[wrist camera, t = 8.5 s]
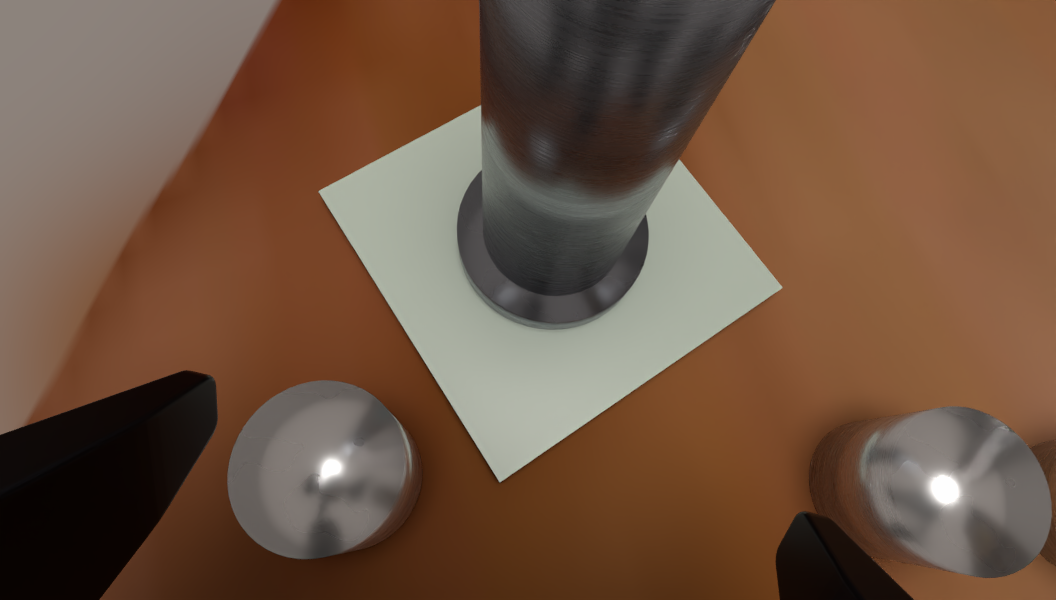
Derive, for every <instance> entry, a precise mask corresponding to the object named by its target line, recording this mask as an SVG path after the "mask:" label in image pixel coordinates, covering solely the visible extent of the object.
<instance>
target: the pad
mask: <svg viewBox="0 0 1056 600" xmlns="http://www.w3.org/2000/svg"><path fill="white" fill-rule="evenodd" d="M481 170H482V141H481V105H480V106H478V107H477V108H475V109H473V110H471V111H469V112H467V113H465V114H463V115H461V116H460V117H458V118H456V119H454V120H452V121H450V122H448V123H446V124H444V125H443V126H441V127H439V128H437V129H435V130H433V131H431V132H429V133H427V134H426V135H424V136H422V137H420V138H418V139H416V140H414V141H412V142H410V143H409V144H407V145H405V146H403V147H401V148H399V149H397V150H395V151H393V152H392V153H390V154H388V155H386V156H384V157H382V158H380V159H378V160H376V161H375V162H373V163H371V164H369V165H367V166H365V167H363V168H361V169H359V170H358V171H356V172H354V173H352V174H350V175H348V176H346V177H344V178H342V179H341V180H339V181H337V182H335V183H333V184H331V185H329V186H327V187H325V188H324V189H322V190H320V191H318V192H319V193H320V195H321V197H322V198H323V200H324V202H325V203H326V205H327V206H328V208H329V210H330V211H331V213H332V214H333V216H334V218H335V219H336V221H337V222H338V224H339V226H340V227H341V229H342V230H343V232H344V234H345V235H346V237H347V238H348V240H349V242H350V243H351V245H352V246H353V248H354V250H355V251H356V253H357V254H358V256H359V258H360V259H361V261H362V262H363V264H364V266H365V267H366V269H367V270H368V272H369V274H370V275H371V277H372V279H373V280H374V282H375V283H376V285H377V287H378V288H379V290H380V291H381V293H382V295H383V296H384V298H385V299H386V301H387V303H388V304H389V306H390V307H391V309H392V311H393V312H394V314H395V315H396V317H397V319H398V320H399V322H400V323H401V325H402V327H403V328H404V330H405V331H406V333H407V335H408V336H409V338H410V339H411V341H412V343H413V344H414V346H415V347H416V349H417V351H418V352H419V354H420V356H421V357H422V359H423V360H424V362H425V364H426V365H427V367H428V368H429V370H430V372H431V373H432V375H433V376H434V378H435V380H436V381H437V383H438V384H439V386H440V388H441V389H442V391H443V392H444V394H445V396H446V397H447V399H448V400H449V402H450V404H451V405H452V407H453V408H454V410H455V412H456V413H457V415H458V416H459V418H460V420H461V421H462V423H463V425H464V426H465V428H466V429H467V431H468V433H469V434H470V436H471V437H472V439H473V441H474V442H475V444H476V445H477V447H478V449H479V450H480V452H481V453H482V455H483V457H484V458H485V460H486V461H487V463H488V465H489V466H490V468H491V469H492V471H493V473H494V474H495V476H496V477H497V479H498V481H499V482H501V481H503V480H504V479H506V478H507V477H509V476H510V475H511V474H513V473H514V472H516V471H517V470H519V469H520V468H522V467H523V466H525V465H526V464H527V463H529V462H530V461H532V460H533V459H535V458H536V457H538V456H539V455H541V454H542V453H543V452H545V451H546V450H548V449H549V448H551V447H552V446H554V445H555V444H556V443H558V442H559V441H561V440H562V439H564V438H565V437H567V436H568V435H570V434H571V433H572V432H574V431H575V430H577V429H578V428H580V427H581V426H583V425H584V424H586V423H587V422H588V421H590V420H591V419H593V418H594V417H596V416H597V415H599V414H600V413H601V412H603V411H604V410H606V409H607V408H609V407H610V406H612V405H613V404H615V403H616V402H617V401H619V400H620V399H622V398H623V397H625V396H626V395H628V394H629V393H631V392H632V391H633V390H635V389H636V388H638V387H639V386H641V385H642V384H644V383H645V382H646V381H648V380H649V379H651V378H652V377H654V376H655V375H657V374H658V373H660V372H661V371H662V370H664V369H665V368H667V367H668V366H670V365H671V364H673V363H674V362H676V361H677V360H678V359H680V358H681V357H683V356H684V355H686V354H687V353H689V352H690V351H692V350H693V349H694V348H696V347H697V346H699V345H700V344H702V343H703V342H705V341H706V340H707V339H709V338H710V337H712V336H713V335H715V334H716V333H718V332H719V331H721V330H722V329H723V328H725V327H726V326H728V325H729V324H731V323H732V322H734V321H735V320H737V319H738V318H739V317H741V316H742V315H744V314H745V313H747V312H748V311H750V310H751V309H752V308H754V307H755V306H757V305H758V304H760V303H761V302H763V301H764V300H766V299H767V298H768V297H770V296H771V295H773V294H774V293H776V292H777V291H779V290H780V289H782V286H781V285H780V284H779V283H778V281H777V280H776V279H775V278H774V276H773V275H772V274H771V273H770V271H769V270H768V269H767V268H766V266H765V265H764V264H763V263H762V261H761V260H760V259H759V258H758V257H757V255H756V254H755V253H754V252H753V250H752V249H751V248H750V247H749V245H748V244H747V243H746V242H745V240H744V239H743V238H742V237H741V235H740V234H739V233H738V232H737V230H736V229H735V228H734V227H733V226H732V224H731V223H730V222H729V221H728V219H727V218H726V217H725V216H724V214H723V213H722V212H721V211H720V209H719V208H718V207H717V206H716V204H715V203H714V202H713V201H712V199H711V198H710V197H709V196H708V195H707V193H706V192H705V191H704V190H703V188H702V187H701V186H700V185H699V183H698V182H697V181H696V180H695V178H694V177H693V176H692V175H691V173H690V172H689V171H688V170H687V168H686V167H685V166H684V165H683V163H682V162H681V161H680V160H678V162H677V163H676V165H675V167H674V168H673V170H672V172H671V173H670V175H669V176H668V178H667V180H666V181H665V183H664V185H663V186H662V188H661V190H660V191H659V193H658V195H657V196H656V198H655V199H654V201H653V203H652V204H651V206H650V208H649V209H648V211H647V213H646V217H647V222H648V229H649V243H648V250H647V255H646V259H645V262H644V265H643V268H642V270H641V272H640V274H639V276H638V278H637V279H636V281H635V282H634V284H633V285H632V287H631V288H630V289H629V291H628V292H627V293H626V295H625V296H624V297H623V298H622V299H621V300H620V302H619V303H618V304H617V305H616V306H615V307H613V308H612V309H611V310H610V311H609V312H607V313H606V314H604V315H603V316H601V317H600V318H598V319H596V320H594V321H592V322H590V323H587V324H584V325H581V326H578V327H574V328H568V329H559V330H547V329H537V328H532V327H528V326H524V325H521V324H519V323H516V322H513V321H511V320H509V319H507V318H505V317H503V316H502V315H500V314H499V313H497V312H496V311H494V310H493V309H492V308H491V307H490V306H488V305H487V304H486V303H485V302H484V301H483V300H482V299H481V298H480V296H479V295H478V294H477V293H476V292H475V290H474V289H473V287H472V286H471V284H470V283H469V281H468V279H467V277H466V275H465V273H464V270H463V267H462V264H461V260H460V255H459V249H458V241H457V218H458V212H459V208H460V204H461V201H462V199H463V196H464V194H465V192H466V190H467V188H468V187H469V185H470V183H471V182H472V180H473V179H474V178H475V177H476V175H477V174H478V173H479V172H480V171H481Z"/></svg>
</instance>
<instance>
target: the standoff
mask: <svg viewBox="0 0 1056 600" xmlns="http://www.w3.org/2000/svg"><path fill="white" fill-rule="evenodd" d="M775 1H776V0H479V6H480V74H481V141H482V170H481V171H480V172H479V173H478V174H477V175H476V177H475V178H474V179H473V180H472V182H471V183H470V185H469V187H468V188H467V190H466V192H465V194H464V196H463V199H462V201H461V204H460V208H459V212H458V218H457V241H458V249H459V255H460V260H461V264H462V267H463V270H464V273H465V275H466V277H467V279H468V281H469V283H470V284H471V286H472V287H473V289H474V290H475V292H476V293H477V294H478V295H479V296H480V298H481V299H482V300H483V301H484V302H485V303H486V304H487V305H488V306H490V307H491V308H492V309H493V310H494V311H496V312H497V313H499V314H500V315H502V316H503V317H505V318H507V319H509V320H511V321H513V322H516V323H519V324H521V325H524V326H528V327H532V328H537V329H547V330H559V329H568V328H574V327H578V326H581V325H584V324H587V323H590V322H592V321H594V320H596V319H598V318H600V317H601V316H603V315H604V314H606V313H607V312H609V311H610V310H611V309H612V308H613V307H615V306H616V305H617V304H618V303H619V302H620V300H621V299H622V298H623V297H624V296H625V295H626V293H627V292H628V291H629V289H630V288H631V287H632V285H633V284H634V282H635V281H636V279H637V278H638V276H639V274H640V272H641V270H642V268H643V265H644V262H645V259H646V255H647V250H648V243H649V229H648V222H647V217H646V213H647V211H648V209H649V208H650V206H651V204H652V203H653V201H654V199H655V198H656V196H657V195H658V193H659V191H660V190H661V188H662V186H663V185H664V183H665V181H666V180H667V178H668V176H669V175H670V173H671V172H672V170H673V168H674V167H675V165H676V163H677V162H678V160H679V158H680V157H681V155H682V153H683V152H684V150H685V149H686V147H687V145H688V144H689V142H690V140H691V139H692V137H693V135H694V134H695V132H696V130H697V129H698V127H699V126H700V124H701V122H702V121H703V119H704V117H705V116H706V114H707V112H708V111H709V109H710V107H711V106H712V104H713V103H714V101H715V99H716V98H717V96H718V94H719V93H720V91H721V89H722V88H723V86H724V84H725V83H726V81H727V79H728V78H729V76H730V75H731V73H732V71H733V70H734V68H735V66H736V65H737V63H738V61H739V60H740V58H741V56H742V55H743V53H744V52H745V50H746V48H747V47H748V45H749V43H750V42H751V40H752V38H753V37H754V35H755V33H756V32H757V30H758V29H759V27H760V25H761V24H762V22H763V20H764V19H765V17H766V15H767V14H768V12H769V10H770V9H771V7H772V6H773V4H774V2H775Z"/></svg>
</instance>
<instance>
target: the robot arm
mask: <svg viewBox="0 0 1056 600" xmlns="http://www.w3.org/2000/svg"><path fill="white" fill-rule="evenodd" d="M217 420H218V414H217V395H216V383H215V380H214V378H213V377H212V376H210V375H207V374H203V373H198V372H194V371H187V370H186V371H181V372H178V373H175V374H172V375H169V376H167V377H164V378H161V379H158V380H155V381H152V382H150V383H147V384H144V385H141V386H138V387H135V388H132V389H130V390H127V391H124V392H121V393H118V394H115V395H113V396H110V397H107V398H104V399H101V400H98V401H95V402H93V403H90V404H87V405H84V406H81V407H78V408H75V409H73V410H70V411H67V412H64V413H61V414H58V415H56V416H53V417H50V418H47V419H44V420H41V421H38V422H36V423H33V424H30V425H27V426H24V427H21V428H18V429H16V430H13V431H10V432H7V433H4V434H1V435H0V600H99V599H100V598H101V597H102V595H103V594H104V593H105V592H106V590H107V589H108V588H109V586H110V585H111V584H112V582H113V581H114V580H115V579H116V577H117V576H118V575H119V573H120V572H121V571H122V569H123V568H124V567H125V565H126V564H127V563H128V562H129V560H130V559H131V558H132V556H133V555H134V554H135V552H136V551H137V550H138V549H139V547H140V546H141V545H142V543H143V542H144V541H145V539H146V538H147V537H148V536H149V534H150V533H151V531H152V530H153V529H154V527H155V526H156V525H157V523H158V522H159V520H160V519H161V517H162V516H163V514H164V513H165V511H166V510H167V508H168V507H169V505H170V503H171V502H172V500H173V499H174V497H175V495H176V494H177V492H178V490H179V489H180V487H181V486H182V484H183V482H184V481H185V479H186V477H187V476H188V474H189V473H190V471H191V469H192V468H193V466H194V464H195V463H196V461H197V460H198V458H199V456H200V455H201V453H202V451H203V450H204V448H205V447H206V445H207V443H208V442H209V440H210V438H211V437H212V435H213V433H214V431H215V429H216V425H217ZM776 570H777V579H778V587H779V596H780V600H914V599H913V598H912V597H911V596H910V595H909V594H908V593H907V592H906V591H905V590H904V589H902V588H901V587H900V586H899V585H898V584H897V583H896V582H895V581H894V580H893V579H892V578H891V577H890V576H889V575H888V574H887V573H886V572H885V571H884V570H883V569H882V568H881V567H880V566H879V565H878V564H877V563H876V562H875V561H874V560H873V559H872V558H871V557H870V556H869V555H868V554H867V553H866V552H865V551H864V550H863V549H862V548H861V547H860V546H859V545H858V544H857V543H856V542H854V541H853V540H852V539H851V538H850V537H849V536H848V535H847V534H846V533H845V532H844V531H843V530H842V529H841V528H840V527H839V526H838V525H837V524H836V523H835V522H834V521H833V520H832V519H831V518H829V517H827V516H824V515H819V514H815V513H811V512H806V511H804V512H800V513H798V514H797V515H796V516H795V518H794V520H793V521H792V523H791V525H790V527H789V529H788V530H787V532H786V534H785V536H784V538H783V539H782V541H781V543H780V545H779V547H778V550H777V553H776Z"/></svg>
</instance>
